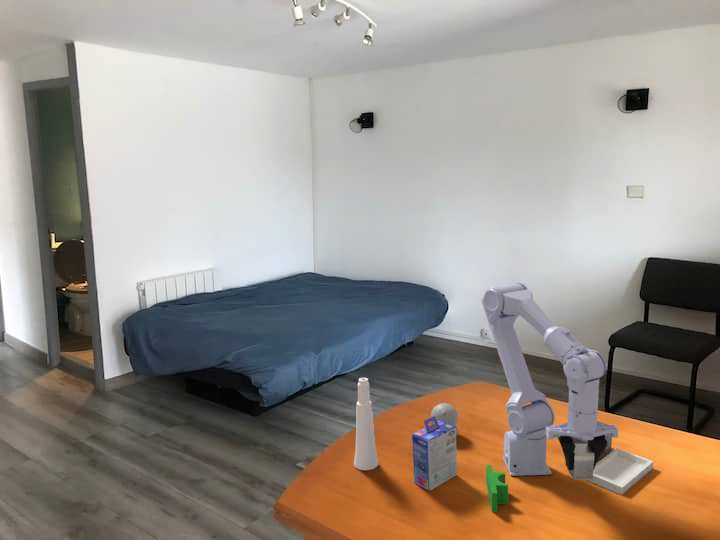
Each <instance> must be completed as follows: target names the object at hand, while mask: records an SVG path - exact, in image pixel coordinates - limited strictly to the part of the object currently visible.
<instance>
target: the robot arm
mask: <svg viewBox="0 0 720 540" xmlns="http://www.w3.org/2000/svg"><path fill="white" fill-rule="evenodd" d="M481 304H482V306H483V309H484V313H485V315H486V318H487V321H488V326H489V329H490V331H491V335H492V338H493V340H494V341H493V342H494V344H495V346H496V350H497V353H498V356H499V359H500V362H501V365H502V369H503V371H504V374H505V377H506V380H507V384H508V386H509V389H510V392H511V396H510V398H509V399H508V401H507V402H506V404H505V409H506V411H507V424H508V425H509V428H510V431H509V430H508V431H505V433H504V436H503V439H504V440H503V456H502V459H503V461H504V464H505V466H506V468H507V470H508V472H509V475H510V476H512V477H513V476H544V475H545V476H549V475H553V473H552V470H551V469H550V467H549V465H548V464H547V442H548V441H547V440H554V438H557V440H558V442H559V445H560V447H561V449H562V452H563V456H564V460H565V461H564V462H565V467H566V469H567V468H568V470H572V469H573V455H574V450H575V447H576V446H575V444H574V443H573V439H572V437H579V438H583V439H584V440H588V446H589V447H590V448H591V449H592V451H593V452H594V467H593V470H594V469H595V466H596V463H597V460H598V458H599V456H600V454H601V453H602V451H603V450H604V449H605V448H606V447H607V440H606V439H605V436H612V439H613V438H617V439H618V438H619V428H618V427H617V425H615V424H608V425H604V424H597V421H598V410H599V409H598V408H599V394H600V393H599V391H600V389H599V387H600V379H601V377H603V376H605V374H606V371H607V364H606V360H605V358H604V357H603V356H602V354H601V353H600V352H599V351H598V350H594V349H590V348H588V347H586V346H584V345H583V344H582V343H581V342H580V341H579V340H578V339H577V338H576V337H575V336H574V335H573V334H572V332H571V330H569V328H568V327H567V328H566V327H564V326H556V325H555V323H553V321H552V320H551V319H550V317H548V315H547V314H546V313H545V312H544V311H543V309H542V308H541V307H540V306H539V305H538V304H537V302H536V301H535V300H534V295H533V292H532V290H530V289H529V288H528V287H527V286H526V285H525V284H524V283H522V282H514V283H513V284H506V285H499V286H490V287H488V288H487V289H486V290H485V292H484V295H483V297H482V300H481ZM519 317H521V318H523V320H525V321H526V322H527V323H528V324H529V325H530V326H532V328H533V329H535V330H536V331H537V332H538V333H539V334H540V335H542V336H543V344H544V346H545V347H546V348H547V349H548V351H550V353H551V354H553V356H554V357H555V358H556V359H557V360H558V361H559V362H560V363H561V365H563V366H562V367H563V368H562V369H563V373H564V375H565V377H566V381H567V383H566V384H567V387H568V402H567V403H568V407H567V423H561V424H556V425H554V424H555V420H556V417H555V416H556V415H555V411H554V409H553V407H552V405H550V403H549V402H548V400H547V397H546V394H545V393H542V391H539V390H537V389H536V388H535V385H534V383H533V380H532V377H531V374H530V370H529V368H528V364H527V363H526V362H527V361H526V360H525V356H524V354H523V350H522V347H521V344H520V341H519V338H518V336H517V333H516V330H515V327H514V324H515V322H516V320H517V319H518V318H519ZM529 403H530V404H529ZM568 470H567V471H568Z"/></svg>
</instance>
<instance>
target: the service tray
mask: <svg viewBox="0 0 720 540" xmlns="http://www.w3.org/2000/svg"><path fill="white" fill-rule="evenodd" d="M653 469H654V461H653V460H651V459H648V458H646V457H643V456H640V455H637V454H634V453H631V452H628V451H626V450H624V449H621V448H618V447H617V448H614V451H612V452H611V453H610V454H608V455H607V456H606V457H604V458H603V459H601V460H600V461H599V462H597V463H596V466H595V469H594V470H593V479H584V480H586V481H587V482H590V483H592V484H594V485H597V486H599V487H602V488H604V489H607V490H609V491H611V492H613V493H616V494H619V495H621V496H623V495H624V494H626V492H627V491H629V490H630V489H631V488H632V487H633V486H634V485H636V484H637V483H638V482H639V481H640V480H641V479H642V478H644V477H645V476H646V475H647V474H648V473H650V472H651V471H652V470H653Z"/></svg>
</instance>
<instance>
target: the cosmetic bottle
mask: <svg viewBox="0 0 720 540" xmlns="http://www.w3.org/2000/svg"><path fill="white" fill-rule="evenodd" d="M370 398H371V396H370V383H369V379H368V378H367V377H360V378H358V383H357V402H356V408H355V409H356V411H355V412H356V413H355V414H356V416H355V418H356V419H355V420H356V421H355V423H356V425H355V426H356V427H355V428H356V429H355V451H354V452H355V453H354V459H353V460H354V461H353V466H354V467H355V468H356V469H358V470H359V471H371V470H375V469H376V468H377V467H378V466H379V458H378V455H377V446H376V439H375V437H376V436H375V426H374V416H373V415H374V413H373V405H372V404H373V403H372V401H371V400H370Z"/></svg>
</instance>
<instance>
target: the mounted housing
mask: <svg viewBox="0 0 720 540" xmlns="http://www.w3.org/2000/svg"><path fill="white" fill-rule="evenodd" d="M597 424H604V425H609V424H607V423H605V422H601V421H598V420H597ZM572 439H573V443H574V444H586V443H587V444H588V440H584V439H583V438H579V437H572ZM605 439H606V440H607V447H606V448H605V449H604V450H603V451H602V453H601V454H600V456H599V458H598V460H597V462H599V461H600V460H601V459H603V458H604V457H606V456H607V455H608V454H610V453H611V452H612V451H614V450H615V448H613V447H612V441H613V437H612V436H605Z"/></svg>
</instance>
